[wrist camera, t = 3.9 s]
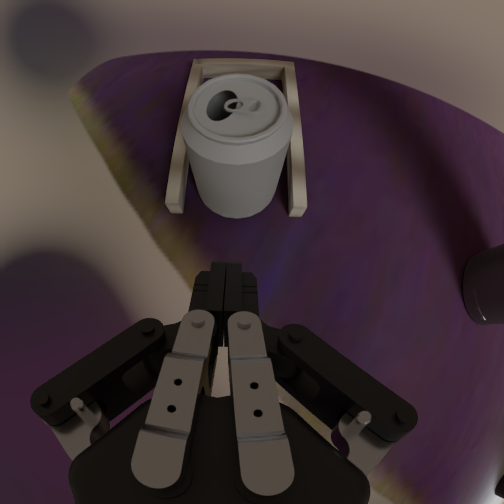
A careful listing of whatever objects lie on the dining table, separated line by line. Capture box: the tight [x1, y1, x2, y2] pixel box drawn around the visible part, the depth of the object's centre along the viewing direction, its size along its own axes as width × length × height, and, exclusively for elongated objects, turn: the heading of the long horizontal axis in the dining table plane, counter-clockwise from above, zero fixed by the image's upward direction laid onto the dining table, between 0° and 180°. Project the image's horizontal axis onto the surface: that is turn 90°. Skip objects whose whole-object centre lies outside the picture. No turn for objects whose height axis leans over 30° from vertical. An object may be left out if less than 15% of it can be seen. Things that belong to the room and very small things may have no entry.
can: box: [181, 73, 293, 219], centre depth 21 cm, size 8×8×12 cm
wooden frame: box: [165, 58, 307, 217], centre depth 27 cm, size 20×12×2 cm, turn 179°
